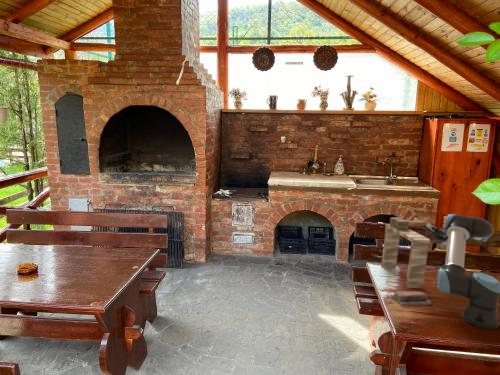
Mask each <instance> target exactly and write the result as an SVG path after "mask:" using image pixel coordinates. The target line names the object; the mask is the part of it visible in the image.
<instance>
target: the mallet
mask: <svg viewBox="0 0 500 375" xmlns="http://www.w3.org/2000/svg"><path fill="white" fill-rule="evenodd" d="M388 224H389V225H391V226H393V227H395V228H396V229H409V226H411V227H413V226H414V227H415V226H419V227H420V226H421V227H422V226H426V224H428V223H427V221H426V220H421V221H413V220H406V219H405V218H402V217H396V216H395V217H394V216H393V217H390V219H389V223H388Z"/></svg>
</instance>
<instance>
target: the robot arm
mask: <svg viewBox="0 0 500 375" xmlns="http://www.w3.org/2000/svg"><path fill="white" fill-rule="evenodd" d="M412 221H422V220H420V219H419V218H418V217H414V219H413V220H412ZM421 227H422V228H424V229H426V230H427V231H429V232H430V233H431V234H432V235H434V237H435V239H436V241H437V240H438V241H439V242H440V243H442V245H444V246H446V247H447V248H446V253H445V254H446V255H445V264H444V265H442V266H441V268H438V269H437V279H436V280H437V282H436V284H437V288H438V291H439V292H442V293H445V294H448V295H451V296H452V295H453V296H457V297H460V298H461V297H462V298H464V299H465V298H466V299H468V302H467V304H466V305H465V307H464V309H463V310H462V314H461V318H462V319H463V320H464V321H465V322H466V323H468V324H471V326H474V327H476V328H477V327H478V328H480V329H481V328H482V329H484V330H485V329H486V330H496V329H497V328H498V327H499V318H498V313H497V309H498V303H499V298H500V281H499V280H498V279H497V278H495V277H494V276H492V275H489V274H487V273H483V272H473V274H468V273H467V272H468V271H467V269H466V268H465V260H466V259H465V256H466V245H467V240H473V241H479V242H484V243H485V242H487V241H488V240H489V238H490V237H492V236H493V235H494V232H495V228H494V226H493V225H492V224H491V223H490V222H489V221H488V220H486V219H484V218H481V217H475V216H470V215H469V216H468V215H463V214H462V215H461V214H457V213H449V214H447V216H446V219H445V223H444V226H443V229H440V228H439V227H436V226H434V225H432V224H431V223H430V222H428V223H427V224H426V226H421Z"/></svg>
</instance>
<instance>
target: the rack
mask: <svg viewBox="0 0 500 375" xmlns="http://www.w3.org/2000/svg"><path fill="white" fill-rule="evenodd" d="M389 224H390V223H385V230H384V238H383V250H382V256H381V264H380V267H381V268H383V269H394V268H397V260H398V253H399V247H400V246H399V245H400V237H403V238H404V239H406V240H408V241H409V242H411V243H410V251H409V259H408V267H407V272H406V273H407V274H406V281H405V286H406V287H407V288H408V289H412V288H413V289H417V288H419V289H421V288H423V287H424V286H423V285H424V280H425V273H426V266H427V260H428V252H429V251H428V250H429V245H430V242H431V239H430V238H428V237H427V236H424V235H422V234H420V233H419V232H416V231H414V230H412V229H410V228H408V229H396V228H395V227H393V226H391V225H389Z"/></svg>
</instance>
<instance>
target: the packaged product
mask: <svg viewBox="0 0 500 375" xmlns="http://www.w3.org/2000/svg"><path fill="white" fill-rule="evenodd" d="M391 298H393V299H394V300H395V302H397V303H398V304H399V303H400V304H401V305H400V304H399V305H400V306H409V305H410V306H415V305H416V306H417V305H419V306H421V305H424V306H425V305H432V301H430V300H429V299H428V298H429V296H428V294H427V293H425V292H423V291H418V290H414V291H413V290H412V291H411V290H410V291H409V290H407V291H406V290H402V291H401V290H400V291H399V290H396V291H395V292H394V294H391Z"/></svg>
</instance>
